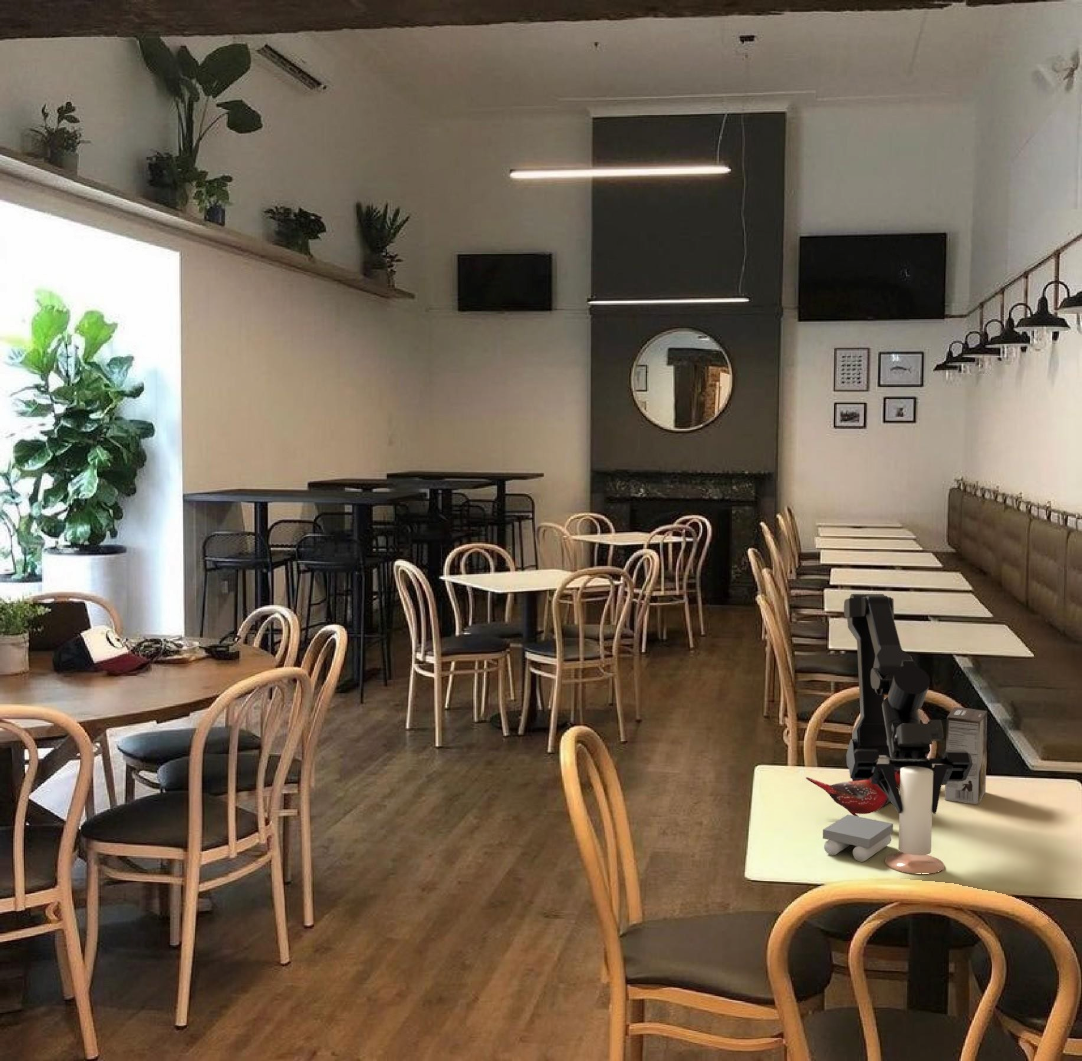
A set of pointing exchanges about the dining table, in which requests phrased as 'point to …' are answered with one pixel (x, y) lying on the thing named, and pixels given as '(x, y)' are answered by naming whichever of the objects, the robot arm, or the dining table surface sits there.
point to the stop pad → (914, 863)
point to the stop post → (915, 810)
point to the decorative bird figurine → (855, 795)
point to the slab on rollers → (857, 836)
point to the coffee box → (971, 736)
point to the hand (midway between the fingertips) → (917, 812)
